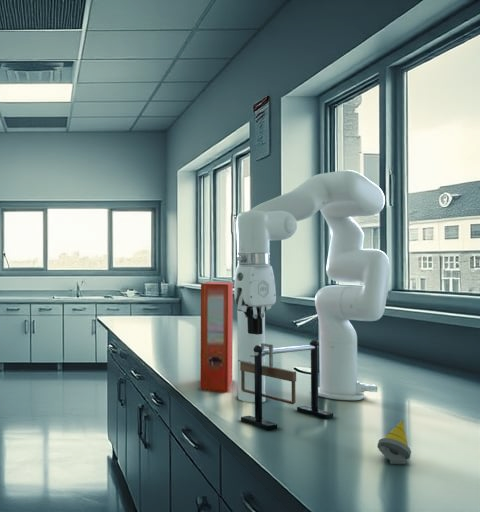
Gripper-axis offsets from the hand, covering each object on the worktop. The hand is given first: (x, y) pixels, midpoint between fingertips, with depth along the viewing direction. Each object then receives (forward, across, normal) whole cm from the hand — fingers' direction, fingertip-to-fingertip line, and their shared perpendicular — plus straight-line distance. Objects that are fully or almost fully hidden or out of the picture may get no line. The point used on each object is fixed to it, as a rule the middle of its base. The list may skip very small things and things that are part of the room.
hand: (255, 333), depth 137 cm
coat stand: (+21, +4, -6) cm, 22 cm away
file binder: (+21, +17, +30) cm, 40 cm away
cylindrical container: (+21, +12, +12) cm, 27 cm away
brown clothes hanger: (+14, -3, -6) cm, 16 cm away
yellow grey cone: (+21, -1, -34) cm, 40 cm away
